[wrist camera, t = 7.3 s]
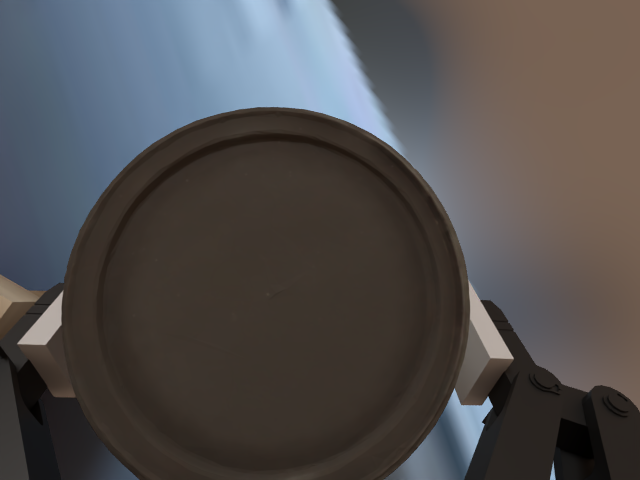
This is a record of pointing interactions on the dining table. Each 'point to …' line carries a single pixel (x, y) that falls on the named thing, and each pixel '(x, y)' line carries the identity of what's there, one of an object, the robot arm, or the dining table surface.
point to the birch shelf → (14, 303)
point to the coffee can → (265, 303)
